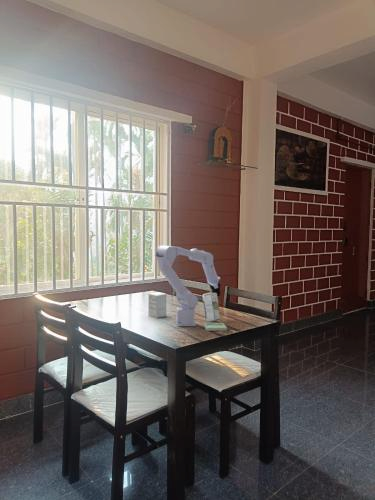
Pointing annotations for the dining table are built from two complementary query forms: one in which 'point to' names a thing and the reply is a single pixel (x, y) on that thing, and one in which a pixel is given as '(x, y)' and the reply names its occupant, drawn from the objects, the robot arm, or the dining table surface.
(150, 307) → the supplement box
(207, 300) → the syrup box
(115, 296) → the dining table surface
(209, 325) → the tray
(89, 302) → the dining table surface
